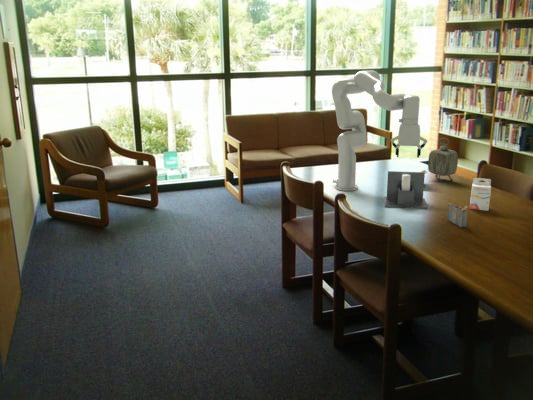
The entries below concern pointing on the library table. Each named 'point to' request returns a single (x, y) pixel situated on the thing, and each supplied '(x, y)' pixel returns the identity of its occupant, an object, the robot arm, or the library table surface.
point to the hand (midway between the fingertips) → (407, 156)
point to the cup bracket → (405, 198)
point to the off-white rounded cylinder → (406, 182)
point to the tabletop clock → (443, 161)
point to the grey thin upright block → (457, 215)
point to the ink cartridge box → (480, 194)
